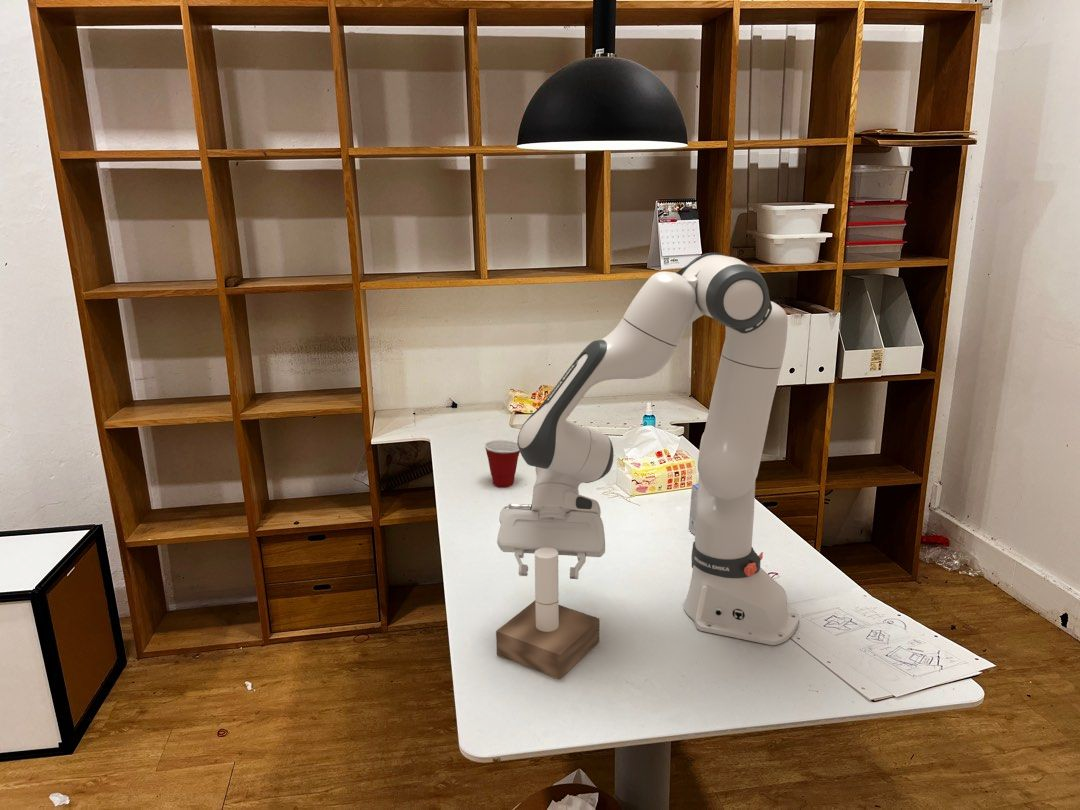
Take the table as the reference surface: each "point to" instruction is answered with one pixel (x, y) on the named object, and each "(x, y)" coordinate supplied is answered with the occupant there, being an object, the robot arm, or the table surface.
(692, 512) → the ink cartridge box
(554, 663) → the walnut stand
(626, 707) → the table surface
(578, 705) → the table surface
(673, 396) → the table surface
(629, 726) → the table surface
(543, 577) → the tube
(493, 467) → the plastic cup
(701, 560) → the robot arm
